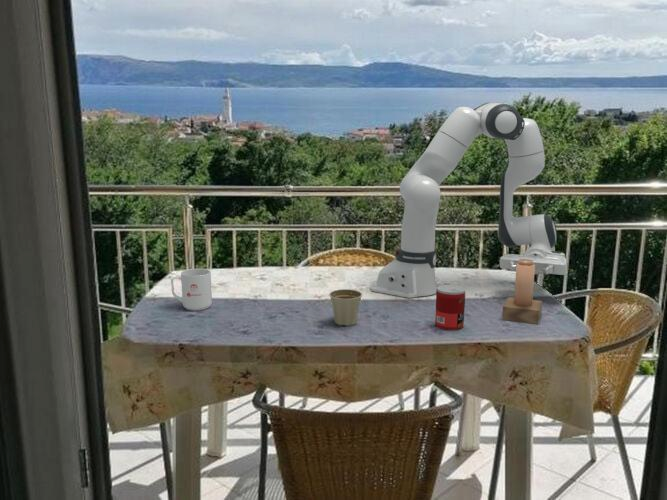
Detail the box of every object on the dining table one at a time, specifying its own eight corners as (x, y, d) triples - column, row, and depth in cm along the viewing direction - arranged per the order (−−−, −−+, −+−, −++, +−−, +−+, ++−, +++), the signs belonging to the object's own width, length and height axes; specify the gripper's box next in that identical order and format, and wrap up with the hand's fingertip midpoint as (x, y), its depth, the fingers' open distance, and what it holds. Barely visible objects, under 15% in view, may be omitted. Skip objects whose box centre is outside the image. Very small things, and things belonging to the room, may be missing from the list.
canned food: (463, 331, 178) (465, 293, 175) (434, 329, 179) (435, 291, 177) (463, 322, 185) (465, 285, 183) (435, 320, 187) (437, 283, 184)
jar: (512, 305, 188) (515, 261, 185) (514, 300, 192) (517, 257, 189) (531, 307, 186) (534, 263, 183) (533, 302, 190) (536, 259, 187)
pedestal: (502, 319, 187) (502, 306, 186) (507, 309, 196) (507, 297, 195) (537, 324, 183) (538, 310, 183) (541, 313, 192) (542, 300, 192)
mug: (213, 302, 204) (211, 268, 201) (210, 311, 195) (209, 275, 193) (174, 303, 203) (172, 269, 200) (170, 312, 194) (168, 276, 191)
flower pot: (351, 330, 178) (351, 300, 176) (323, 324, 183) (322, 295, 181) (368, 321, 186) (368, 292, 184) (340, 315, 191) (340, 287, 189)
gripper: (504, 247, 213) (495, 256, 201) (569, 253, 204) (564, 263, 192) (503, 266, 214) (494, 276, 202) (568, 272, 205) (562, 283, 193)
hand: (529, 270), depth 197 cm, fingers open, 8 cm apart
